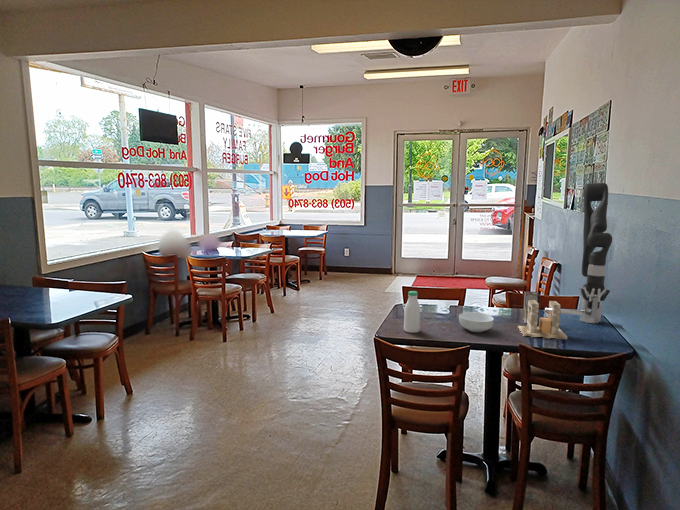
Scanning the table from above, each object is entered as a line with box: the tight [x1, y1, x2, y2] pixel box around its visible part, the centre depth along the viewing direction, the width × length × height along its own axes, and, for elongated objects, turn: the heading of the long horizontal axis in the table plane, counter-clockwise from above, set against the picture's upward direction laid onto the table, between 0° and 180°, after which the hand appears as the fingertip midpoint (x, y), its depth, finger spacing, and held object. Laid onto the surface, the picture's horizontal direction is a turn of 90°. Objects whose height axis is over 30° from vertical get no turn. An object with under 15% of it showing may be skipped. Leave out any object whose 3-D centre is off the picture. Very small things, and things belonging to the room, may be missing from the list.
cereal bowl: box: [458, 311, 495, 333], centre depth 247 cm, size 17×17×7 cm
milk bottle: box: [403, 290, 421, 334], centre depth 243 cm, size 8×8×20 cm
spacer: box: [538, 317, 551, 333], centre depth 242 cm, size 4×6×6 cm, turn 172°
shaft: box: [544, 296, 598, 318], centre depth 239 cm, size 23×4×10 cm, turn 82°
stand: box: [517, 300, 568, 341], centre depth 242 cm, size 20×14×16 cm
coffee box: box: [522, 291, 541, 325], centre depth 262 cm, size 9×6×16 cm
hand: (592, 308), depth 238 cm, fingers closed on shaft, 2 cm apart
